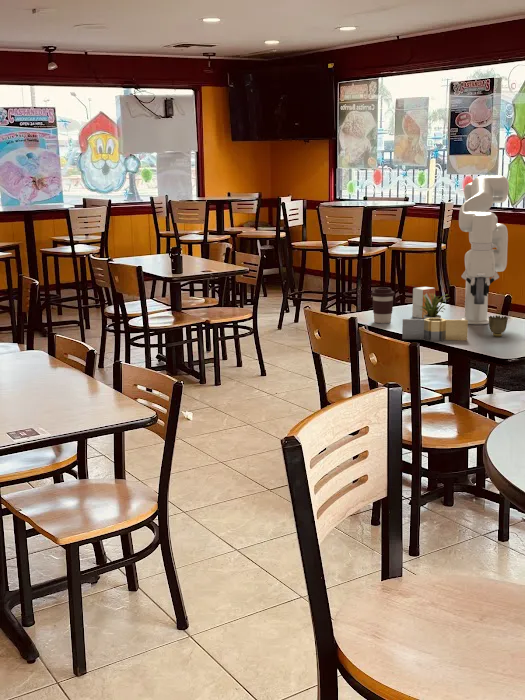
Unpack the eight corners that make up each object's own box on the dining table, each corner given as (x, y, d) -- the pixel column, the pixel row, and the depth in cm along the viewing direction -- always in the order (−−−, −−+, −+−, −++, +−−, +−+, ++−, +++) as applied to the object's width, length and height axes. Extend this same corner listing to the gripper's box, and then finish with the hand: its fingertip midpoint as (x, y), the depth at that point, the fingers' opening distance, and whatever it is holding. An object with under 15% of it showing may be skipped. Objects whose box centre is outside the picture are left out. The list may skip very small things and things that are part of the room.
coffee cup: (369, 323, 377) (369, 289, 373) (373, 319, 386) (373, 286, 383) (392, 324, 374) (392, 290, 371) (395, 320, 383) (396, 286, 380)
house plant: (457, 329, 362) (459, 290, 358) (445, 335, 351) (446, 295, 347) (425, 326, 370) (426, 288, 366) (412, 331, 358) (413, 292, 355)
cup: (507, 338, 343) (508, 318, 341) (488, 338, 344) (489, 318, 342) (506, 334, 350) (507, 315, 348) (487, 334, 351) (488, 315, 350)
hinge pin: (471, 302, 333) (472, 271, 331) (485, 302, 333) (486, 271, 330) (472, 304, 328) (473, 273, 326) (486, 304, 328) (488, 273, 325)
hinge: (402, 336, 349) (402, 317, 347) (466, 338, 345) (467, 318, 343) (402, 341, 341) (402, 321, 339) (467, 342, 337) (468, 322, 336)
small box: (422, 318, 387) (422, 289, 384) (411, 316, 392) (412, 288, 389) (434, 316, 392) (435, 287, 389) (424, 314, 397) (425, 286, 394)
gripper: (503, 246, 328) (501, 294, 332) (458, 246, 331) (456, 293, 335) (505, 248, 321) (503, 297, 325) (459, 248, 323) (457, 296, 327)
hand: (479, 294), depth 330 cm, fingers closed on hinge pin, 4 cm apart
